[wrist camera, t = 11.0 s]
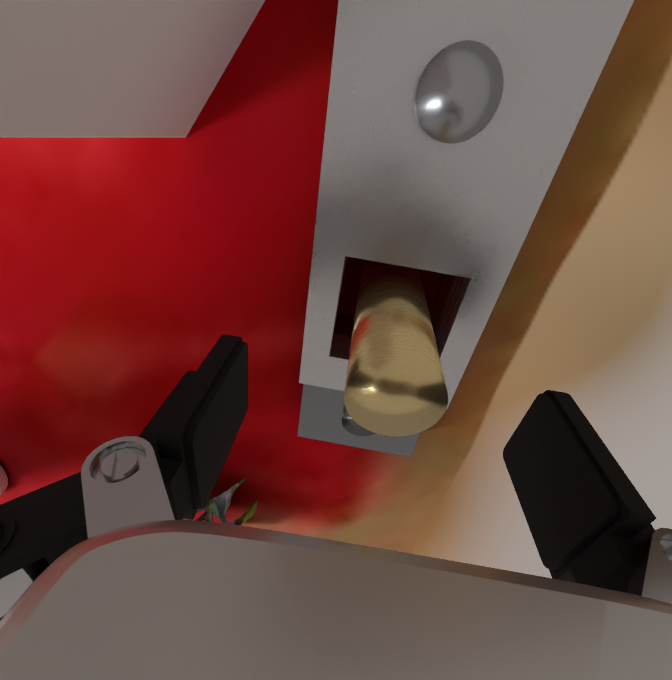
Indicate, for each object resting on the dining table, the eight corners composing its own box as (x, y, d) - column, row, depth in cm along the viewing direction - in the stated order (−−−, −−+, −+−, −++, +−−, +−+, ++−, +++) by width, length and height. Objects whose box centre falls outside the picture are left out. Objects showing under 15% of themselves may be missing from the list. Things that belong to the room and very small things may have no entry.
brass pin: (398, 318, 19) (408, 448, 12) (348, 291, 19) (326, 411, 11) (433, 272, 18) (471, 390, 10) (380, 241, 17) (377, 342, 10)
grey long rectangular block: (408, 433, 24) (413, 493, 20) (303, 414, 24) (288, 470, 21) (572, 13, 12) (662, -34, 8) (356, -22, 12) (343, -84, 8)
